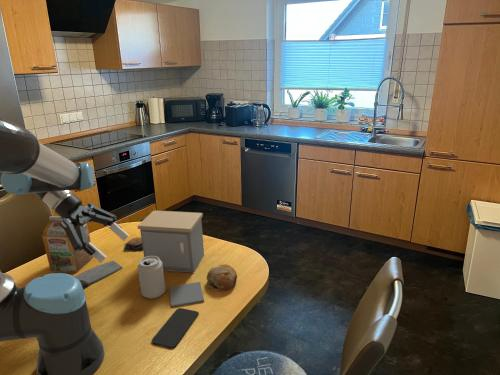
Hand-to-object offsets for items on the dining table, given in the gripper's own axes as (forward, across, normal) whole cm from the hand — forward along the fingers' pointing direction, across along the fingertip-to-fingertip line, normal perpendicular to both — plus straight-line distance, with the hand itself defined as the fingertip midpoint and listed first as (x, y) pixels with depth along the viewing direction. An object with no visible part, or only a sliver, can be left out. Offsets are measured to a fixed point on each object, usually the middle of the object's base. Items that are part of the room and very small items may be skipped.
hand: (115, 248), depth 116 cm
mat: (+26, 0, +4) cm, 26 cm away
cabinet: (+18, -19, -3) cm, 27 cm away
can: (+18, 0, -3) cm, 19 cm away
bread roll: (+33, -9, +11) cm, 36 cm away
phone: (+28, +14, +6) cm, 32 cm away
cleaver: (0, -2, -23) cm, 23 cm away
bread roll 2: (+5, -28, -18) cm, 34 cm away
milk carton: (-8, -12, -30) cm, 33 cm away
